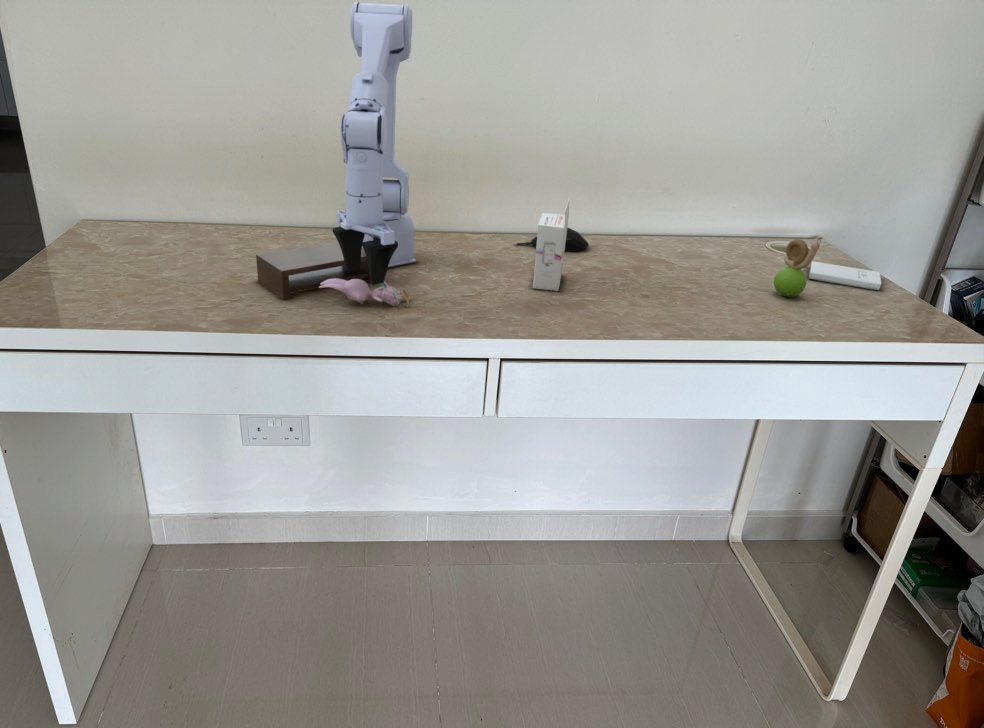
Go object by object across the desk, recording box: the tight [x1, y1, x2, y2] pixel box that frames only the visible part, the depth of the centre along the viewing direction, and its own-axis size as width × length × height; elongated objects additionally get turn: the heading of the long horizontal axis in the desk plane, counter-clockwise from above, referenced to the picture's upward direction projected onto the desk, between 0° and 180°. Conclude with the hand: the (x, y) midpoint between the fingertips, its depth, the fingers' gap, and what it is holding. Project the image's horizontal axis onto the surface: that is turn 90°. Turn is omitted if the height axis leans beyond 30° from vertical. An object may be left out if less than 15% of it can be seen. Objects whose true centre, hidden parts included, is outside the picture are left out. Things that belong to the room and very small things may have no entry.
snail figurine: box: [773, 236, 824, 298], centre depth 137 cm, size 5×6×12 cm
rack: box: [255, 241, 371, 301], centre depth 135 cm, size 18×10×5 cm, turn 126°
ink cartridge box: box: [532, 198, 570, 292], centre depth 138 cm, size 9×5×15 cm, turn 168°
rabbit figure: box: [318, 278, 411, 308], centre depth 127 cm, size 6×6×15 cm
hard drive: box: [808, 260, 882, 291], centre depth 150 cm, size 2×8×12 cm
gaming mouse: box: [516, 227, 590, 252], centre depth 160 cm, size 6×15×4 cm, turn 89°
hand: (364, 276), depth 126 cm, fingers open, 7 cm apart
